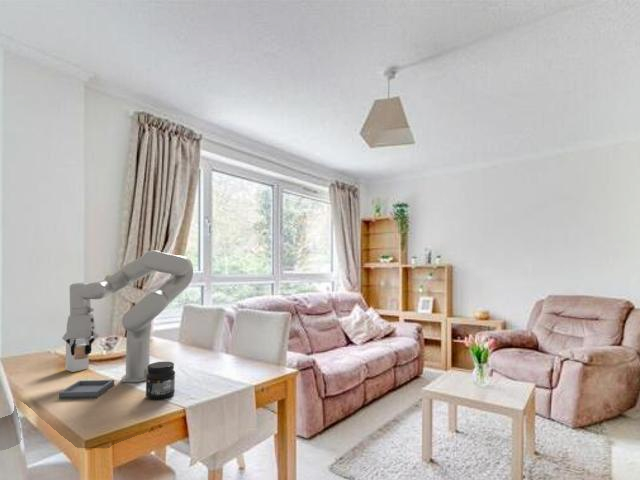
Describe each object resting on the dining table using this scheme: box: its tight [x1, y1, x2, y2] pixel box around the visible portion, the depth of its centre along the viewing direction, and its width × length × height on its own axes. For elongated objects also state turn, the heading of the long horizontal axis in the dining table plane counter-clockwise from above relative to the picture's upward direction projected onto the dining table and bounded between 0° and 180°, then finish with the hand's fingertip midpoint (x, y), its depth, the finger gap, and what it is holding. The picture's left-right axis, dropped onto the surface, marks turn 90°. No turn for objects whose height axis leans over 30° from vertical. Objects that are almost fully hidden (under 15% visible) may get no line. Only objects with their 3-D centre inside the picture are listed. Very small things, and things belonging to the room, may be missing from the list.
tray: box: [58, 379, 115, 400], centre depth 152 cm, size 14×14×2 cm
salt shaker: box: [74, 344, 88, 360], centre depth 164 cm, size 5×5×6 cm
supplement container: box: [145, 360, 176, 401], centre depth 149 cm, size 10×10×12 cm
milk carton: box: [64, 338, 90, 373], centre depth 183 cm, size 7×7×19 cm
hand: (81, 353), depth 164 cm, fingers closed on salt shaker, 5 cm apart
